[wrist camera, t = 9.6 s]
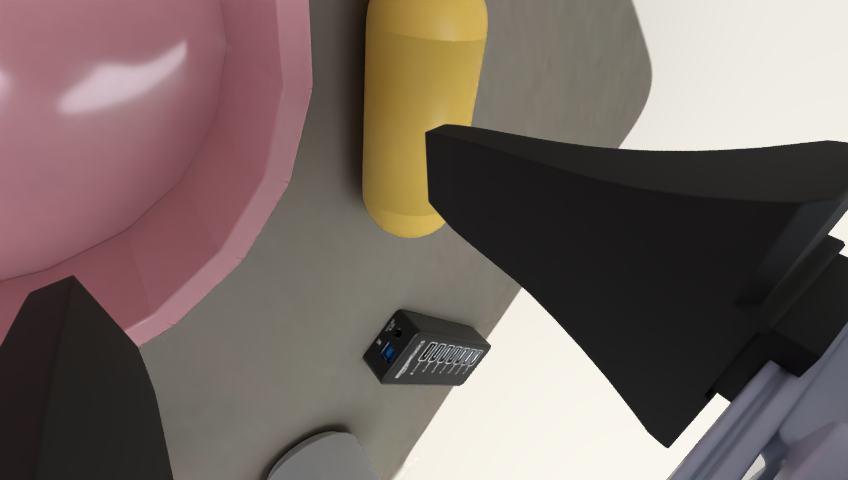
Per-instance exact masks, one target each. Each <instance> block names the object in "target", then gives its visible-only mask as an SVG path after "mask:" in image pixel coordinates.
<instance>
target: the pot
mask: <svg viewBox="0 0 848 480" xmlns="http://www.w3.org/2000/svg"><path fill="white" fill-rule="evenodd" d="M312 87H313V79H312V58H311V36H310V15H309V0H0V346H1V344H2V342H3V340H4V338H5V336H6V335H7V333H8V331H9V329H10V327H11V325H12V323H13V321H14V319H15V317H16V315H17V313H18V312H19V310H20V308H21V306H22V304H23V302H24V301H25V299H26V297H27V296H28V294H29V293H30V292H32V291H34V290H37V289H39V288H42V287H44V286H47V285H49V284H52V283H54V282H57V281H59V280H62V279H64V278H67V277H69V276H71V275H74V276H75V277H76V278H77V279H78V281H79V282H80V283H81V284H82V285H83V286H84V287H85V288H86V289H87V291H88V292H89V293H90V294H91V295H92V296H93V297H94V298H95V299H96V301H97V302H98V303H99V304H100V305H101V306H102V307H103V308H104V309H105V311H106V312H107V313H108V314H109V315H110V316H111V317H112V318H113V320H114V321H115V322H116V323H117V324H118V325H119V326H120V327H121V328H122V330H123V331H124V332H125V333H126V334H127V335H128V336H129V337H130V338H131V340H132V341H133V342H134V343H135V344H136V345H137V347H139V346H141V345H142V344H144V343H146V342H147V341H149V340H151V339H153V338H154V337H156V336H158V335H159V334H161V333H163V332H164V331H166V330H168V329H169V328H171V327H172V325H175V324H176V323H177V322H178V321H179V320H180V319H182V318H183V317H184V316H185V315H186V314H187V313H188V312H189V311H190V310H191V309H192V308H193V307H194V306H195V305H196V304H197V303H198V302H199V301H201V300H202V299H203V298H204V297H205V296H206V295H207V294H208V293H209V292H210V291H211V290H212V289H213V288H214V287H215V286H216V285H217V284H219V283H220V282H221V281H222V280H223V279H224V278H225V277H226V276H227V275H228V274H229V273H230V272H231V271H232V270H233V269H234V268H235V267H236V266H238V265H239V264H240V263H241V261H242V259H244V258H245V256H246V254H247V253H248V251H249V249H250V248H251V246H252V244H253V243H254V241H255V239H256V238H257V236H258V235H259V233H260V231H261V230H262V228H263V226H264V225H265V223H266V221H267V220H268V218H269V216H270V215H271V213H272V211H273V210H274V208H275V206H276V205H277V203H278V201H279V200H280V198H281V196H282V195H283V193H284V191H285V190H286V188H287V186H288V182H289V181H290V179H291V175H292V170H293V166H294V162H295V158H296V154H297V150H298V146H299V142H300V138H301V134H302V130H303V126H304V122H305V118H306V114H307V110H308V105H309V101H310V97H311V93H312V89H311V88H312Z"/></svg>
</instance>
